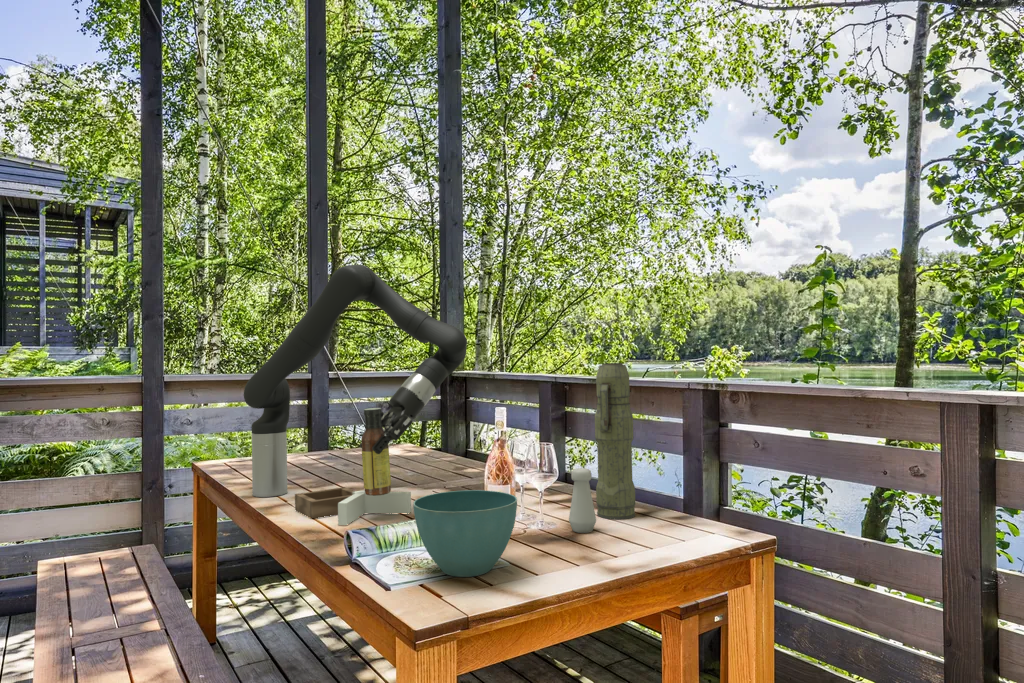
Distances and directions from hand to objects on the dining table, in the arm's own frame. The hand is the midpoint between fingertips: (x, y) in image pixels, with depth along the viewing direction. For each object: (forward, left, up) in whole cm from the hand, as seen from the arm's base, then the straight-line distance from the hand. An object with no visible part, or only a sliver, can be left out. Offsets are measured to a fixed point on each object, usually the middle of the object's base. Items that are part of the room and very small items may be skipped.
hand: (368, 450), depth 157 cm
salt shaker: (+39, +31, -16) cm, 52 cm away
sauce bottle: (0, +2, -11) cm, 11 cm away
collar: (-16, -3, -16) cm, 23 cm away
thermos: (+34, +46, -16) cm, 59 cm away
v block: (-4, +2, -16) cm, 17 cm away
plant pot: (+45, -2, -16) cm, 48 cm away
